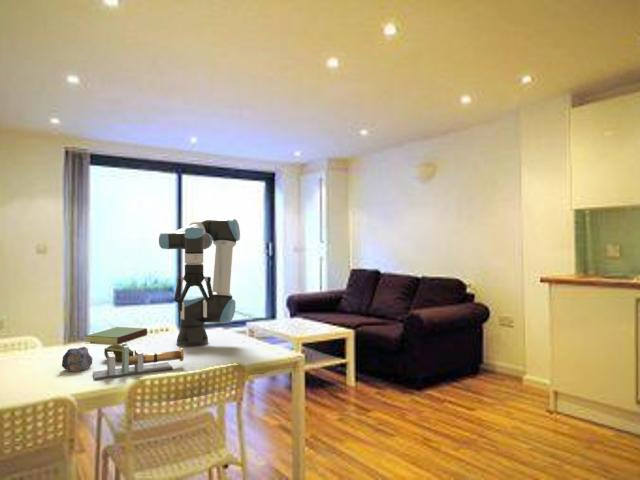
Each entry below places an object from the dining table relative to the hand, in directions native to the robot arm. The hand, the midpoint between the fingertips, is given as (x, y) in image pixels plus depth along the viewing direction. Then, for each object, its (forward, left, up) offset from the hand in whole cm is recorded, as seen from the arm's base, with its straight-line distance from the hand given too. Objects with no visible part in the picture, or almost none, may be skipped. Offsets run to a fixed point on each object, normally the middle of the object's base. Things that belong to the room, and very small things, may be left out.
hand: (193, 317), depth 191 cm
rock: (-15, -43, -20) cm, 49 cm away
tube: (0, -15, -17) cm, 23 cm away
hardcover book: (-71, -22, -20) cm, 77 cm away
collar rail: (0, -24, -19) cm, 31 cm away
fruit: (-22, -27, -20) cm, 40 cm away
